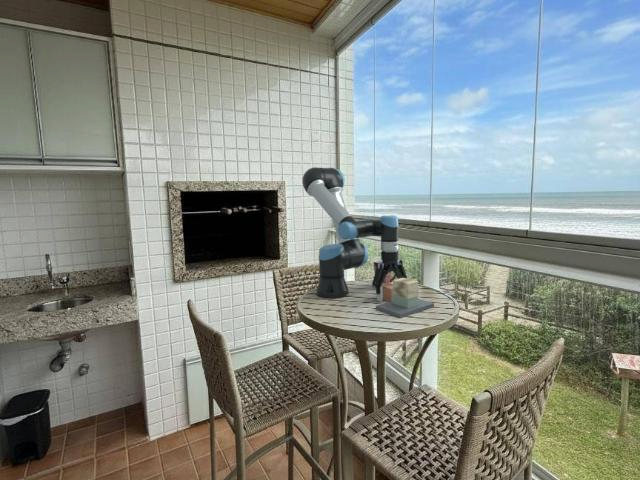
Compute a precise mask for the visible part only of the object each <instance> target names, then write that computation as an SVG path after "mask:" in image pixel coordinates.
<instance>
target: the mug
mask: <svg viewBox="0 0 640 480" xmlns="http://www.w3.org/2000/svg"><path fill="white" fill-rule="evenodd" d="M382 262H383V261H382V259H381V258H380V259H373V262H372V263H373V268H374V269H373V273H374V274H375V272H376V269H377V263H379V264H382ZM384 271H385V270H384ZM391 272H392V271H391ZM391 272H389V273H388V274H387V275H386V277H385V279H384V281H383V283H382V284H386V283H390V284H392V283H393V280H395V279H396V278H397V277H396V275H395V274H394V275H393V277H392V278H391V276H392V275H391Z"/></svg>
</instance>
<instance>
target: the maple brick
mask: <svg viewBox="0 0 640 480" xmlns="http://www.w3.org/2000/svg"><path fill="white" fill-rule="evenodd" d="M392 284H393V295H397V296H400V297H404V298H407V299H410V298H413V297H416V296H418V297H419V280H414V279H410V278H407V279H406V278H400V279H398V278H395V279H394V280H393V281H392Z"/></svg>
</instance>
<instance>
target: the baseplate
mask: <svg viewBox="0 0 640 480" xmlns="http://www.w3.org/2000/svg"><path fill="white" fill-rule="evenodd" d="M434 307H435V302H434V303H433V302H432V301H426V300H424V299H420V298H419V295H418V296H416V297H413V298H410V299H407V298H404V297H400V296H397V295H393V294H392V301H391V302H390V301H387V302H384V303H382V304H378V305H375V310H377V311H380V312H382V313H385V314H388V315H391V316H393V317H396V318H399V319H401V318H405V317H407V316H412V315H413V314H417V313H420V312H423V311H426V310H428V309H433V308H434Z"/></svg>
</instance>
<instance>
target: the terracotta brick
mask: <svg viewBox="0 0 640 480" xmlns="http://www.w3.org/2000/svg"><path fill="white" fill-rule="evenodd" d="M381 287H382V293H383V300H384V301H387V302H391V301H392V294H393V283H386V284H382V285H381Z"/></svg>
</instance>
